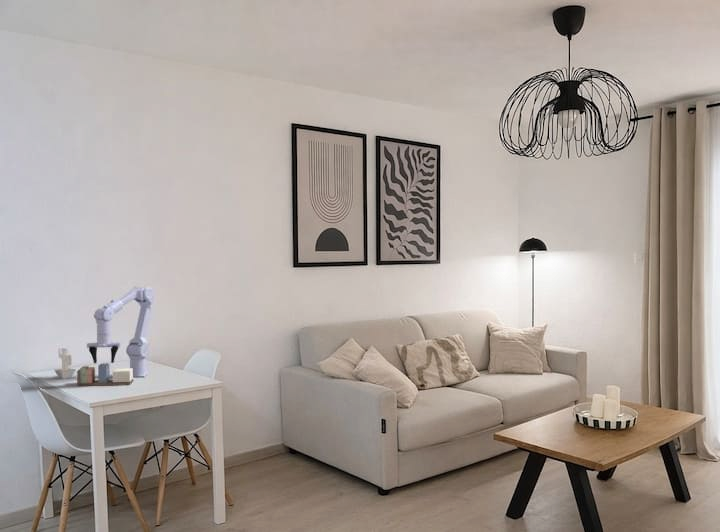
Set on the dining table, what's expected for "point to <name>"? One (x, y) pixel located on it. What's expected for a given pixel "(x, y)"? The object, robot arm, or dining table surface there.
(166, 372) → the dining table surface
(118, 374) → the bookend
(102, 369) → the tall grey-blue block
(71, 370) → the figurine
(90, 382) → the rack
